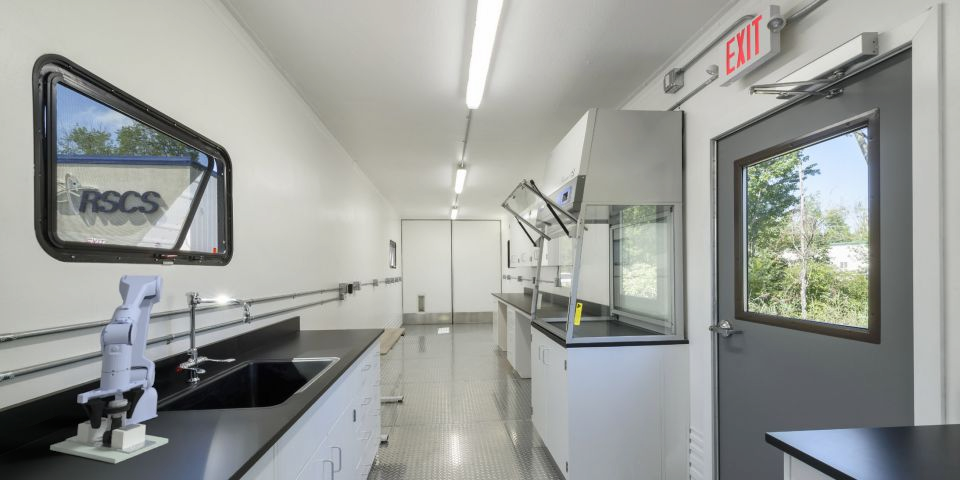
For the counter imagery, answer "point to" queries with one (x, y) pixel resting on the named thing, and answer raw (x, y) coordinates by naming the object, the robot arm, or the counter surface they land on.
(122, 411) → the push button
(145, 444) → the rail
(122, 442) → the mounted modules
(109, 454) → the mounting board
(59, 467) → the counter surface
